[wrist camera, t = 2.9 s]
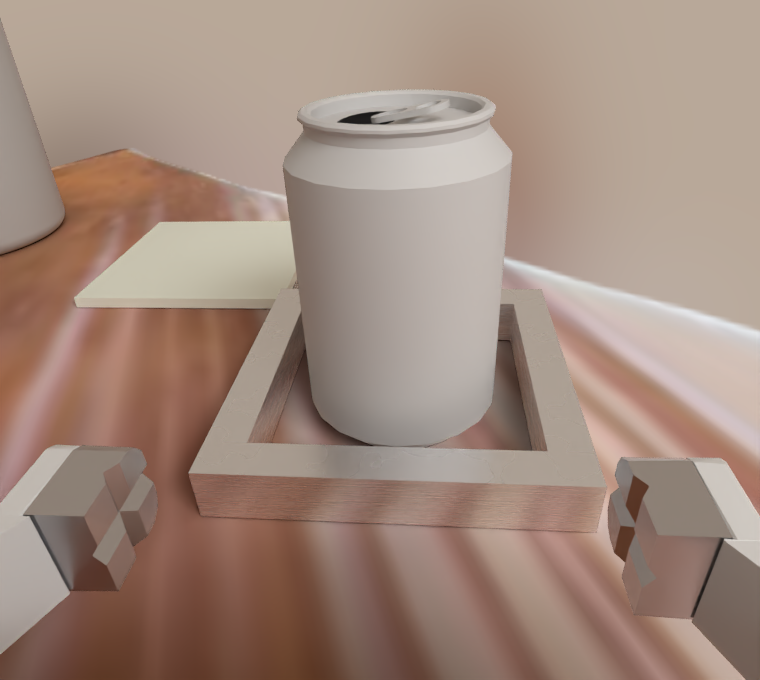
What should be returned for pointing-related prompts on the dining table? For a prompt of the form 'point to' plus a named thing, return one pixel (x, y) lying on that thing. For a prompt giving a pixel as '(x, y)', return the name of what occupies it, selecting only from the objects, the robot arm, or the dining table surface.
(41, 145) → the cylinder vase
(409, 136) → the can
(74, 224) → the dining table surface
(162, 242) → the tile
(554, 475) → the square picture frame
